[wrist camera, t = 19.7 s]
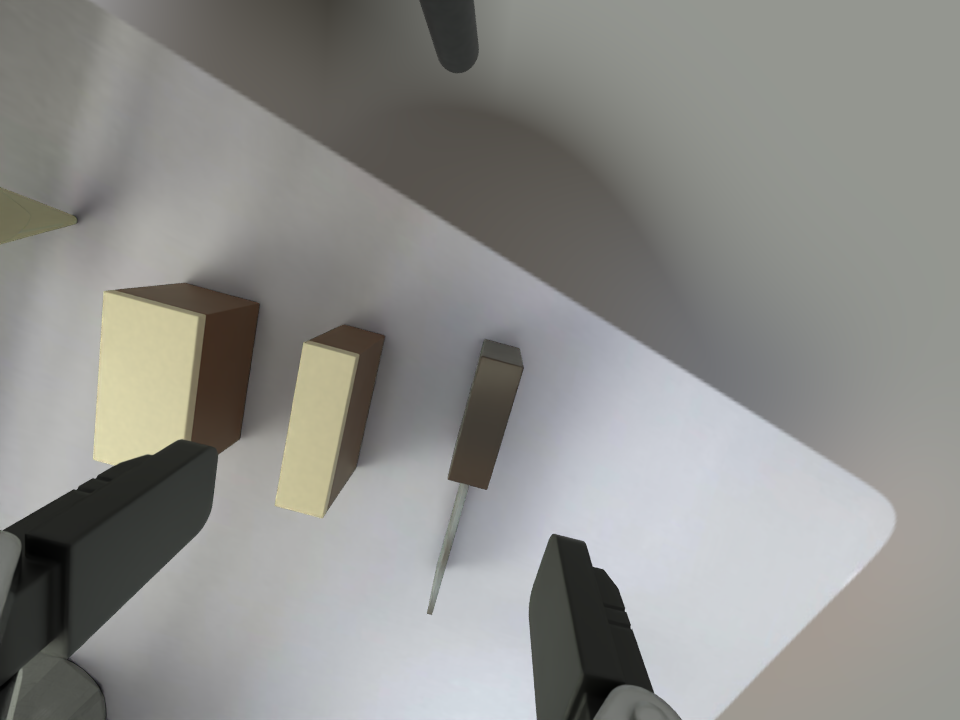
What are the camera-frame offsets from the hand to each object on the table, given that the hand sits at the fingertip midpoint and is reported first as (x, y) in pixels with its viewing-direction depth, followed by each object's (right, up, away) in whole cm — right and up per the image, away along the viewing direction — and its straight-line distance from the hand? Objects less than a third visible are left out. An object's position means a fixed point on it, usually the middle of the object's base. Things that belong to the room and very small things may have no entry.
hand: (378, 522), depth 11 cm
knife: (+2, -3, +18) cm, 18 cm away
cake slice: (-6, +1, +17) cm, 18 cm away
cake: (-14, +4, +17) cm, 22 cm away
